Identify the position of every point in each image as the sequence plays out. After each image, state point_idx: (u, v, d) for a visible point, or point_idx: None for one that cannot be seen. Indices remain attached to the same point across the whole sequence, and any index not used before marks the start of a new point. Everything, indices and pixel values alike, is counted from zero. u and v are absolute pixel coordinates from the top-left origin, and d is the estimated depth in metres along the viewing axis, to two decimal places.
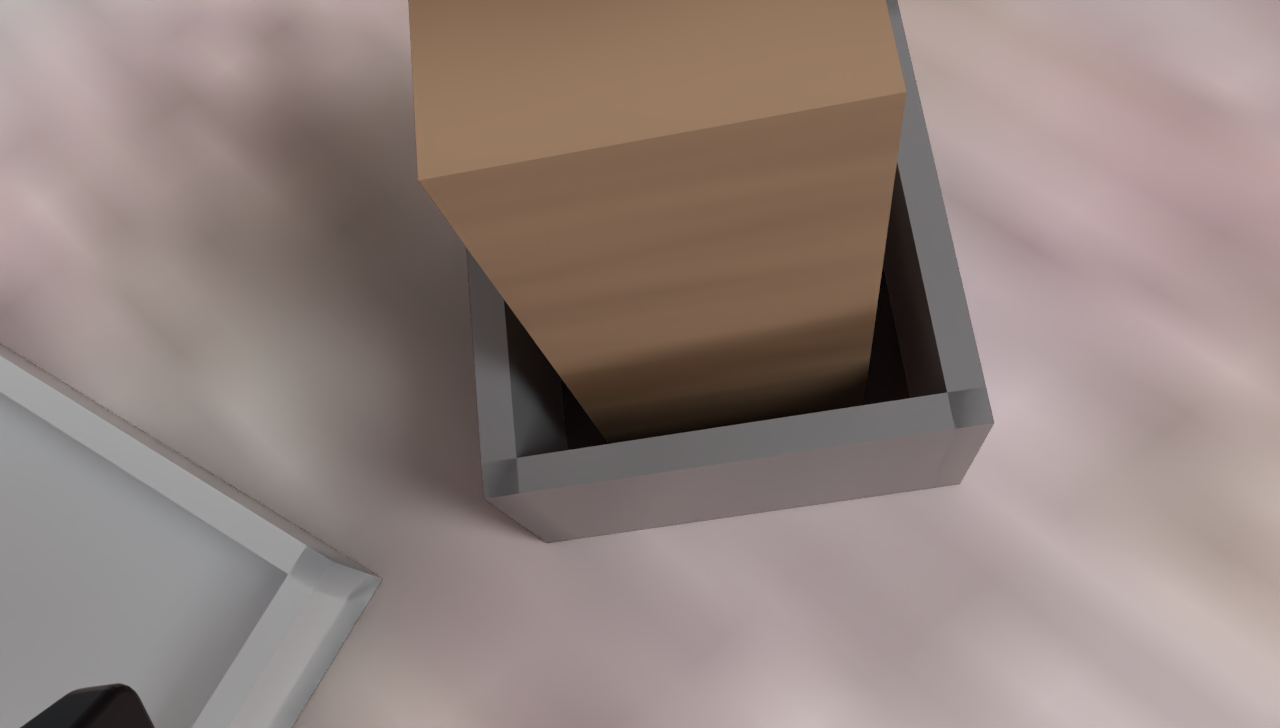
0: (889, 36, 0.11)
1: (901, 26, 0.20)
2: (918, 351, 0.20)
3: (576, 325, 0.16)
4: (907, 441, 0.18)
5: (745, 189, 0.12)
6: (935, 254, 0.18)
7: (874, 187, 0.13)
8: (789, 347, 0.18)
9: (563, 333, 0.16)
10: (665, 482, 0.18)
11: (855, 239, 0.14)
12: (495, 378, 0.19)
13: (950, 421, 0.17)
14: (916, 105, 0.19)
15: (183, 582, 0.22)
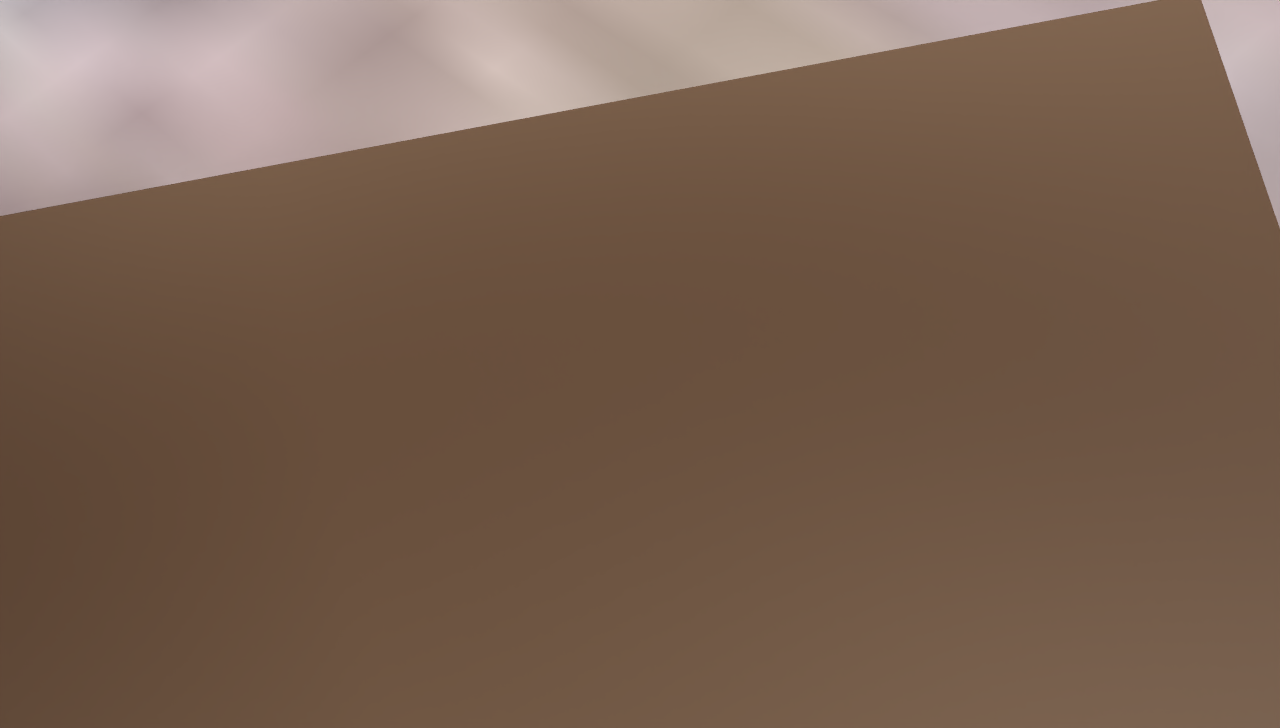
0: None
1: None
2: None
3: None
4: None
5: None
6: None
7: None
8: None
9: None
10: None
11: None
12: None
13: None
14: None
15: None
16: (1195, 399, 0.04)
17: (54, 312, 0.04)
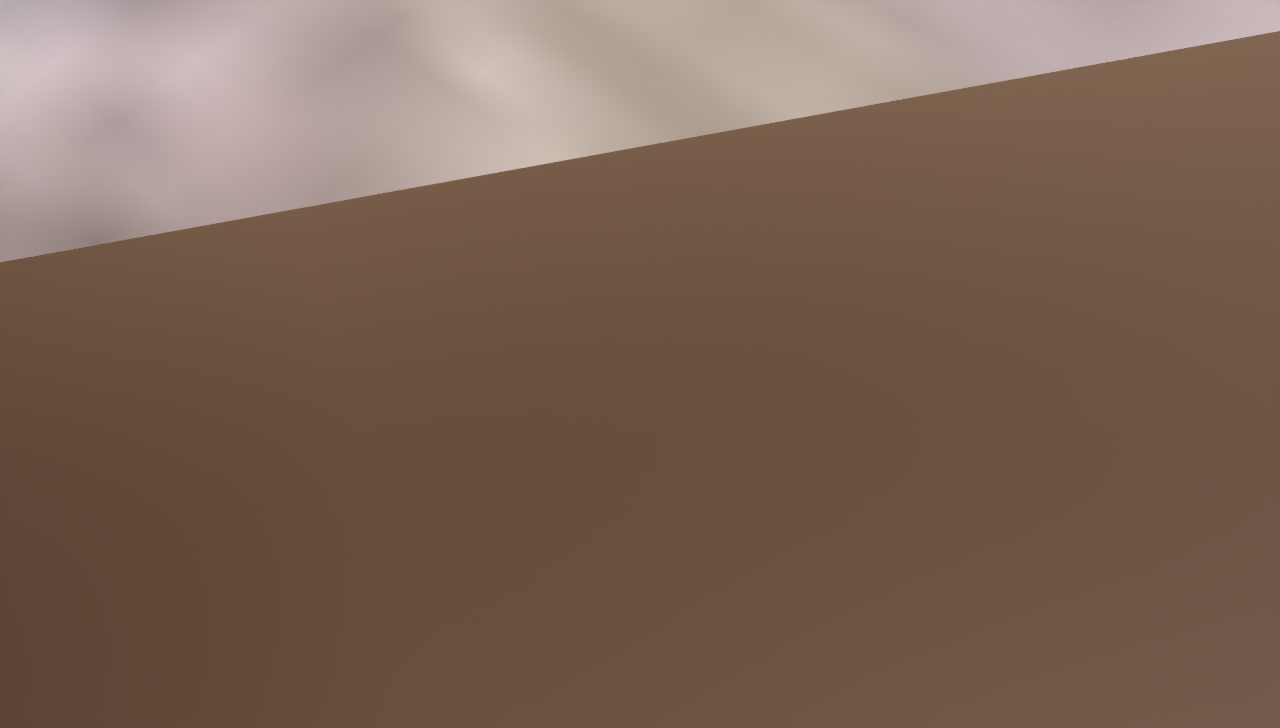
0: None
1: None
2: None
3: None
4: None
5: None
6: None
7: None
8: None
9: None
10: None
11: None
12: None
13: None
14: None
15: None
16: None
17: None
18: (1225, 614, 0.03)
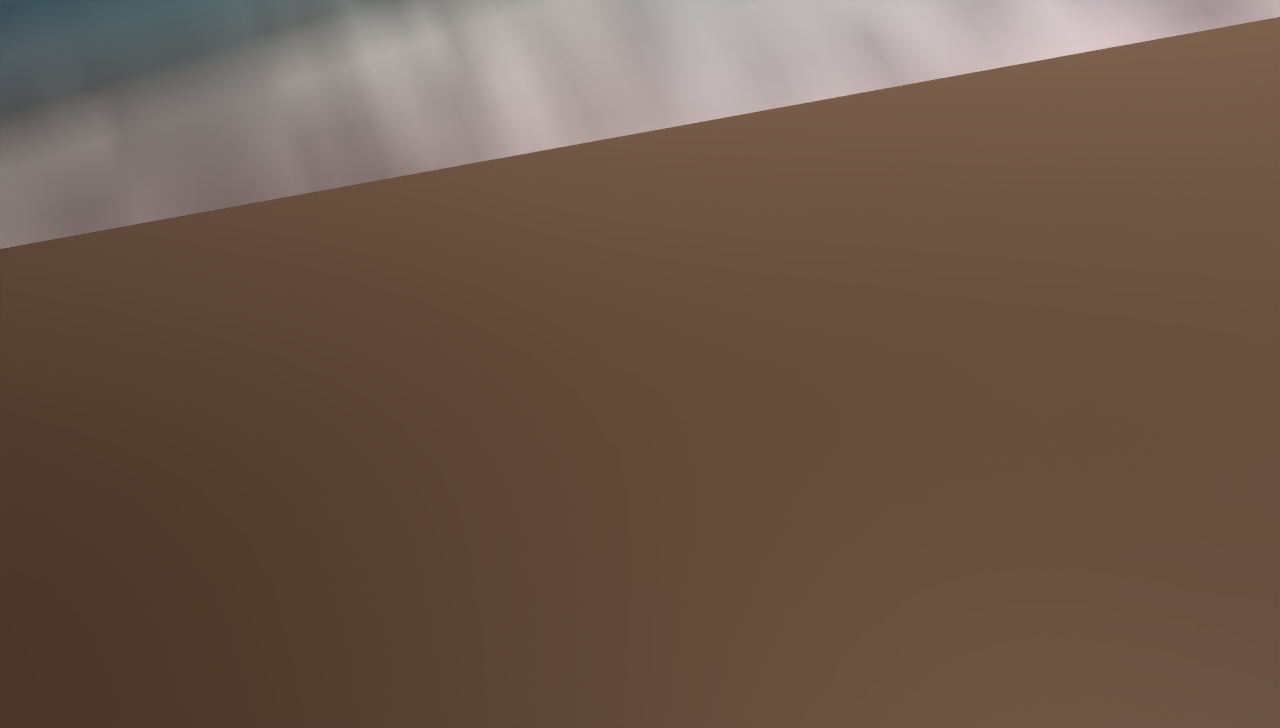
0: None
1: None
2: None
3: None
4: None
5: None
6: None
7: None
8: None
9: None
10: None
11: None
12: None
13: None
14: None
15: None
16: None
17: None
18: (1232, 593, 0.03)
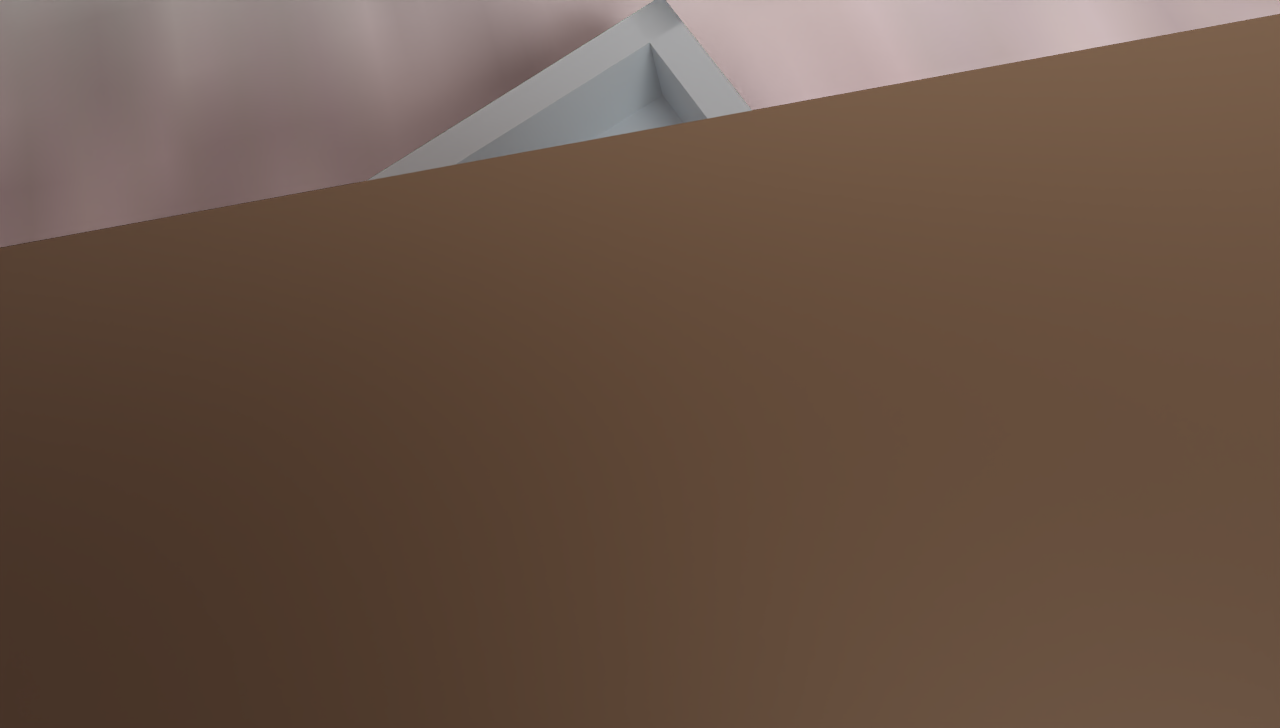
0: None
1: None
2: None
3: None
4: None
5: None
6: None
7: None
8: None
9: None
10: None
11: None
12: None
13: None
14: None
15: None
16: None
17: None
18: (1215, 592, 0.03)
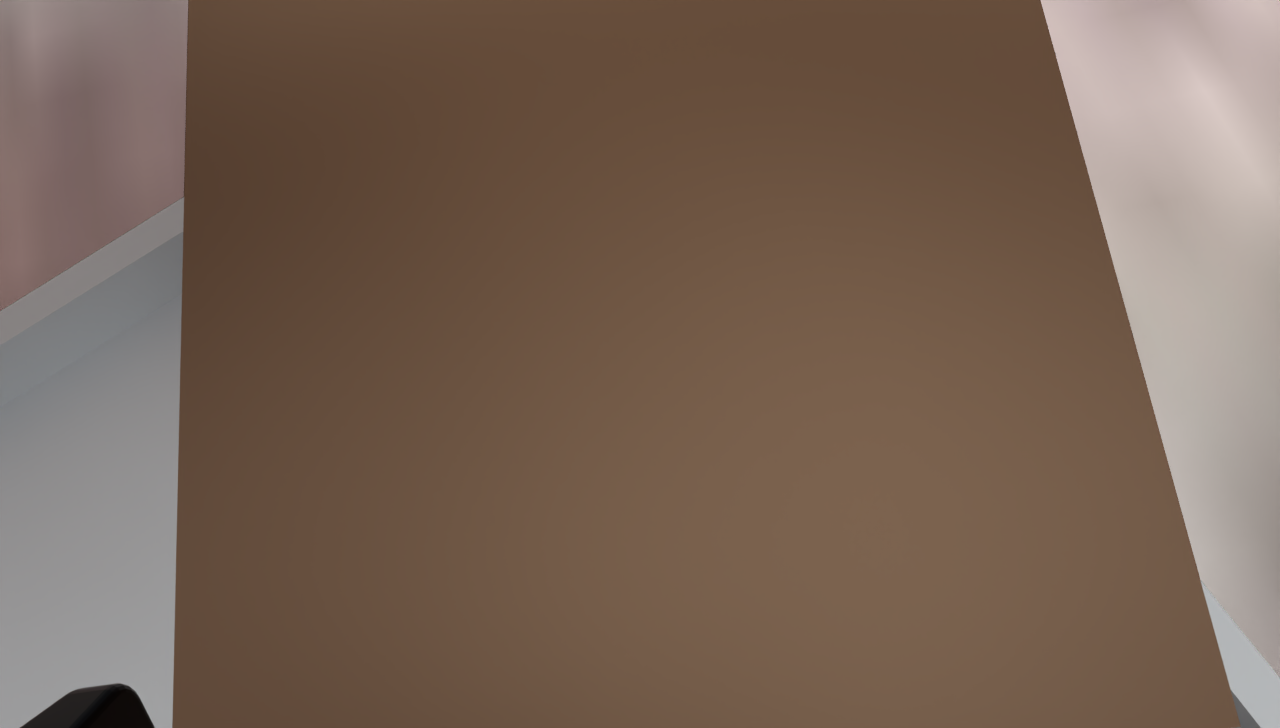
0: (1189, 577, 0.05)
1: None
2: None
3: None
4: None
5: None
6: None
7: None
8: None
9: None
10: None
11: None
12: None
13: None
14: None
15: None
16: (973, 64, 0.06)
17: (257, 45, 0.07)
18: (917, 93, 0.06)
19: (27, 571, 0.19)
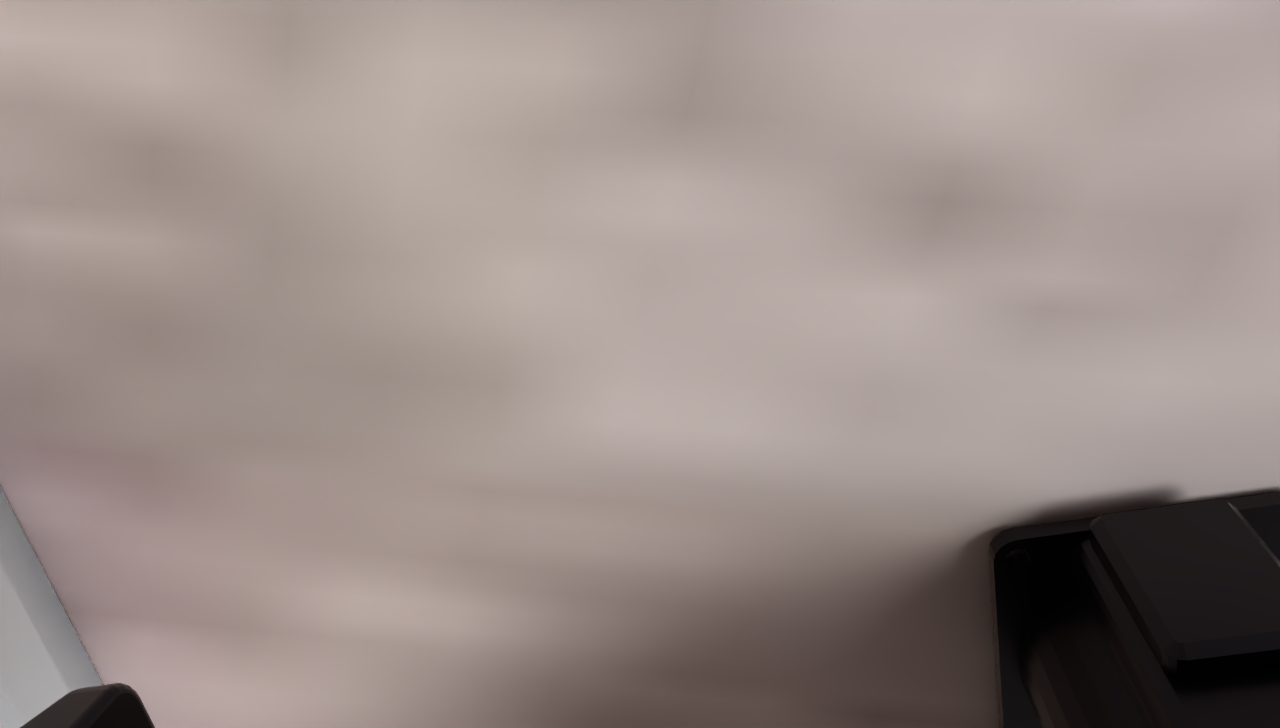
0: None
1: None
2: None
3: None
4: None
5: None
6: None
7: None
8: None
9: None
10: None
11: None
12: None
13: None
14: None
15: None
16: None
17: None
18: None
19: None
